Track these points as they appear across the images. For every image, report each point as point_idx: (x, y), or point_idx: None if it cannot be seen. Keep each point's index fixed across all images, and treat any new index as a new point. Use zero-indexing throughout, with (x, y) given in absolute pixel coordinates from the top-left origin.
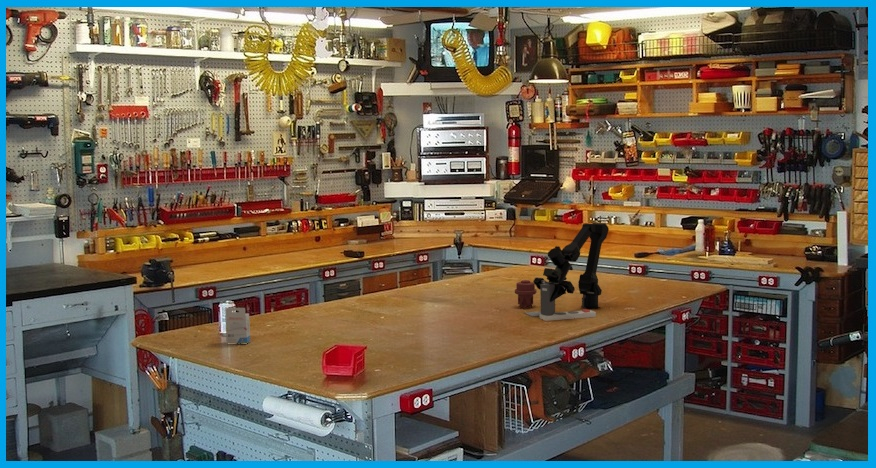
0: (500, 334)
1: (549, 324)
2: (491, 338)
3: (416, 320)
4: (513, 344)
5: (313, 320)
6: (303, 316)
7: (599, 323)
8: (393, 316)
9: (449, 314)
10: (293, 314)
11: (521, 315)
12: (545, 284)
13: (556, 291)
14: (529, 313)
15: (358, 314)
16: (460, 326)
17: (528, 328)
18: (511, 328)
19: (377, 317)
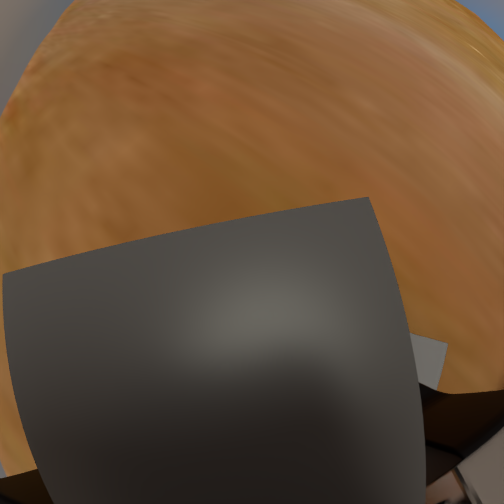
0: (157, 32)
1: (112, 245)
2: (147, 14)
3: (440, 43)
4: (71, 34)
5: (461, 17)
6: (485, 32)
7: (5, 436)
8: (481, 60)
9: (495, 121)
10: (496, 38)
11: (422, 296)
12: (192, 319)
13: None
14: (422, 353)
15: (497, 57)
16: (333, 27)
17: (136, 116)
18: (192, 75)
19: (475, 47)
